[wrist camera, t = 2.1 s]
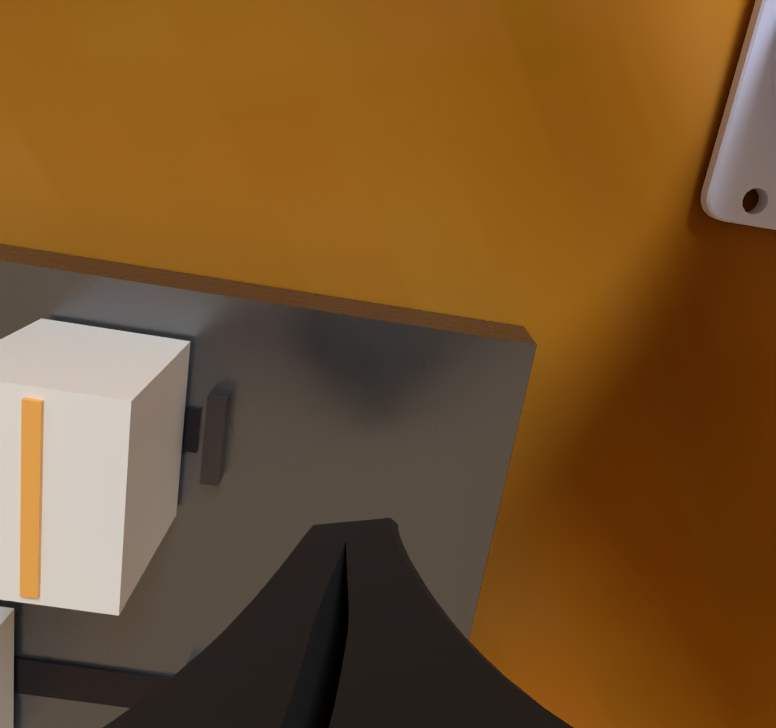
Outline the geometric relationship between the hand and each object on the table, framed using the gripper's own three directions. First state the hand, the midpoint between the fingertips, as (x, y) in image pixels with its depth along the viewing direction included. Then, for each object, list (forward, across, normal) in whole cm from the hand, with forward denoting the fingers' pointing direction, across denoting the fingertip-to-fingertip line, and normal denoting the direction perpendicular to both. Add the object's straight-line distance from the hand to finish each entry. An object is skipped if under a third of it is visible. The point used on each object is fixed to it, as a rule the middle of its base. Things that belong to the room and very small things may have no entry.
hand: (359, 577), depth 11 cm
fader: (+4, +5, -2) cm, 7 cm away
